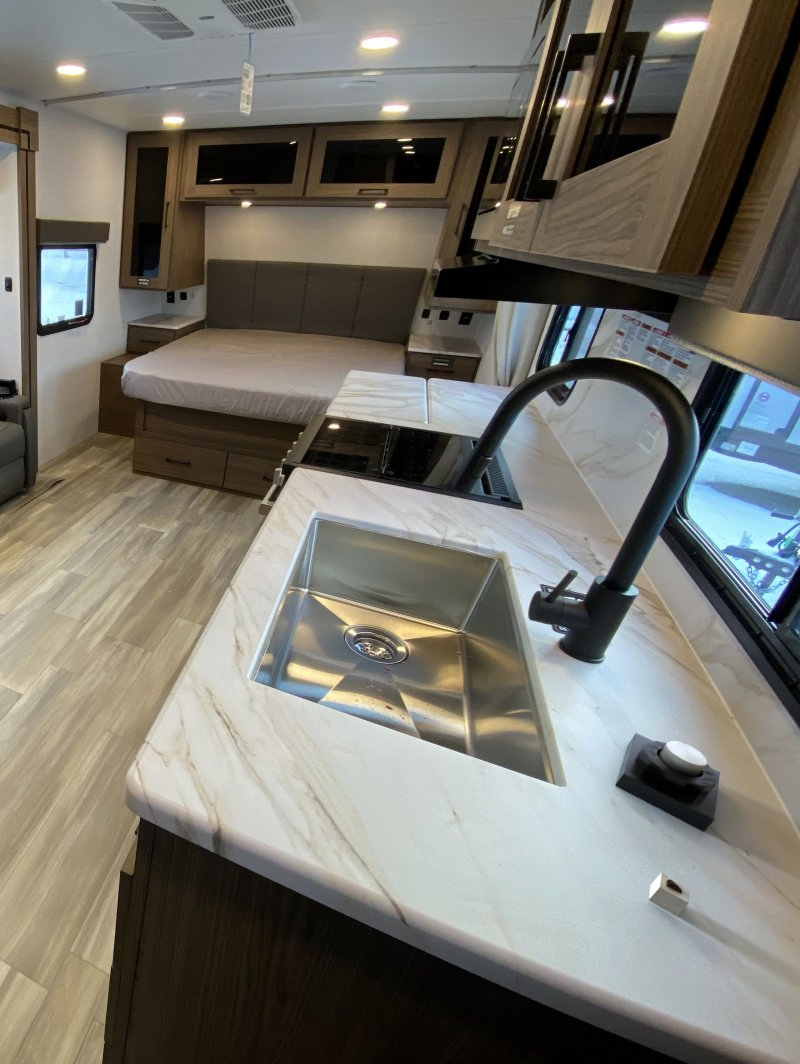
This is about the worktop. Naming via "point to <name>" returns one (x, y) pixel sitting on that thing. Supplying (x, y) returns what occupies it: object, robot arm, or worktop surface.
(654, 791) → the block
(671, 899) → the cube with dark pebbles
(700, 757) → the knob
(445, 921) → the worktop surface
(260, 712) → the worktop surface
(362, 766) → the worktop surface
